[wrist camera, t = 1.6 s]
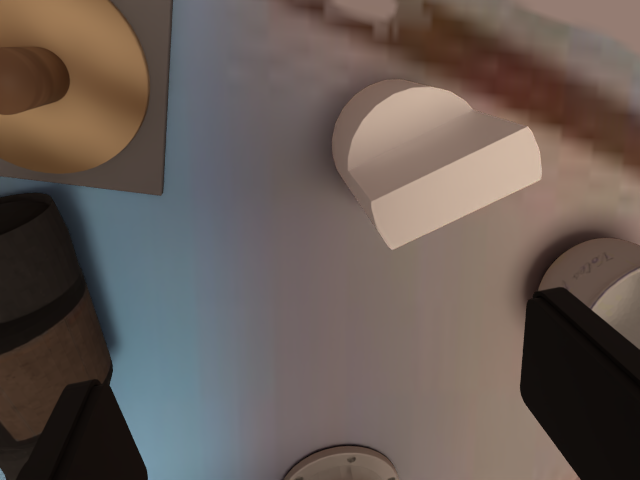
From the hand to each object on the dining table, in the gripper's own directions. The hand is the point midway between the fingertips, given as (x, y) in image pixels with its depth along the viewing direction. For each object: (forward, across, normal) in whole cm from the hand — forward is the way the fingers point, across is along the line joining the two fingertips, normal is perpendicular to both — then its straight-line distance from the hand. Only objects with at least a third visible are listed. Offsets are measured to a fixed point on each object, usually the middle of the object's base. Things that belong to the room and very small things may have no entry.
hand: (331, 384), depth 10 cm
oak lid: (+24, +13, -6) cm, 28 cm away
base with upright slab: (+25, -8, +2) cm, 27 cm away
